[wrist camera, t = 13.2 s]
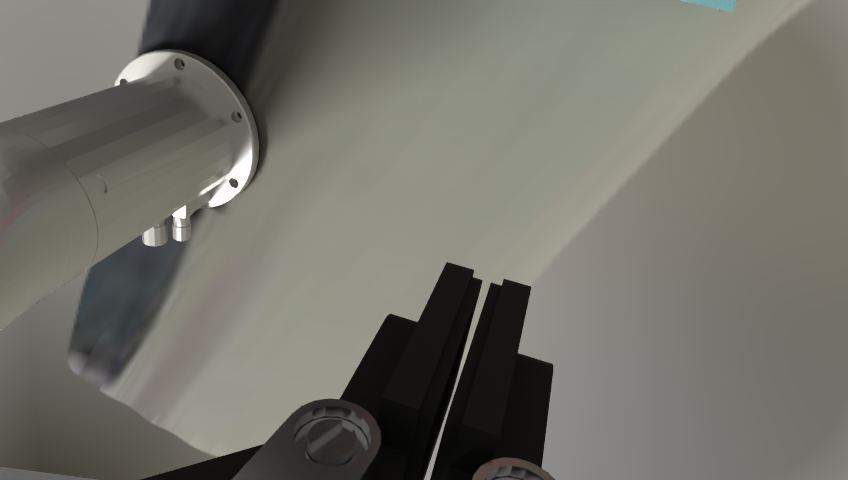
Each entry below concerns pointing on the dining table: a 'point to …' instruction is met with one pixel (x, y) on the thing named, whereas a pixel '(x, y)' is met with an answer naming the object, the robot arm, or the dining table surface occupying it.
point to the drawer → (715, 4)
